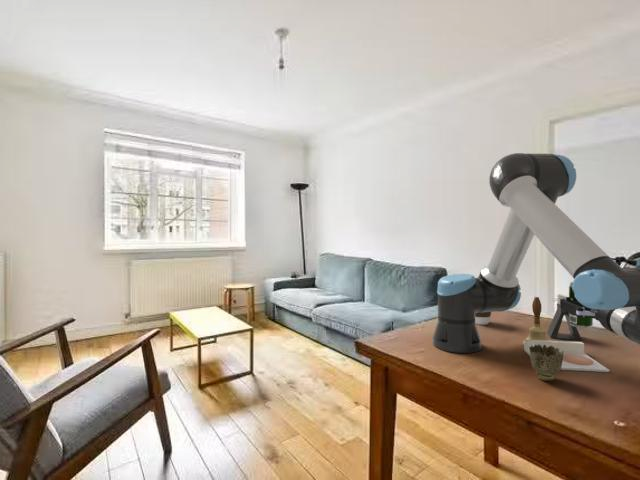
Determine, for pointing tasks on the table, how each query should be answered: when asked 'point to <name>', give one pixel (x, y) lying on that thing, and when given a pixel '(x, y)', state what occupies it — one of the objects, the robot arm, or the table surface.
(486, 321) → the coffee cup
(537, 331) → the hand bell
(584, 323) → the beer can
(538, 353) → the cup
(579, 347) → the tray
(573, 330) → the phone stand
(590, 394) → the table surface
